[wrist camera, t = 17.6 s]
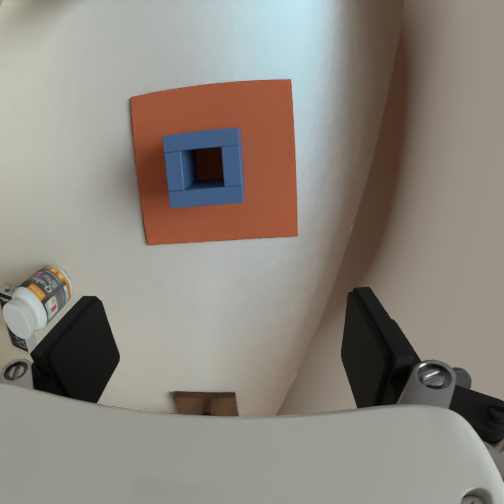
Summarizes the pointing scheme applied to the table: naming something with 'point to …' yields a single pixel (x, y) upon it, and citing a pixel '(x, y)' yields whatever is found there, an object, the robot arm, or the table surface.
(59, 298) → the pill bottle
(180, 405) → the dowel stand
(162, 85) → the table surface
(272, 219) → the mat
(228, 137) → the blue block
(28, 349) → the multiport hub
